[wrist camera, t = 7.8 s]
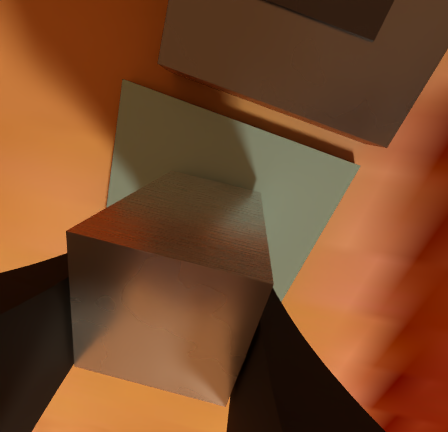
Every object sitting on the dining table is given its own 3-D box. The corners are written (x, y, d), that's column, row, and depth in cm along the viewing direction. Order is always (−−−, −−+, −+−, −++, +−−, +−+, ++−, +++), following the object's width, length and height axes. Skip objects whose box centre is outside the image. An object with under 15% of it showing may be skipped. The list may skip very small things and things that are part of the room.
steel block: (260, 192, 11) (273, 284, 5) (238, 266, 13) (225, 406, 7) (171, 170, 11) (66, 230, 5) (161, 247, 13) (74, 366, 7)
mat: (355, 163, 11) (360, 165, 11) (263, 323, 16) (264, 331, 16) (128, 81, 11) (122, 78, 10) (103, 268, 16) (98, 274, 15)
